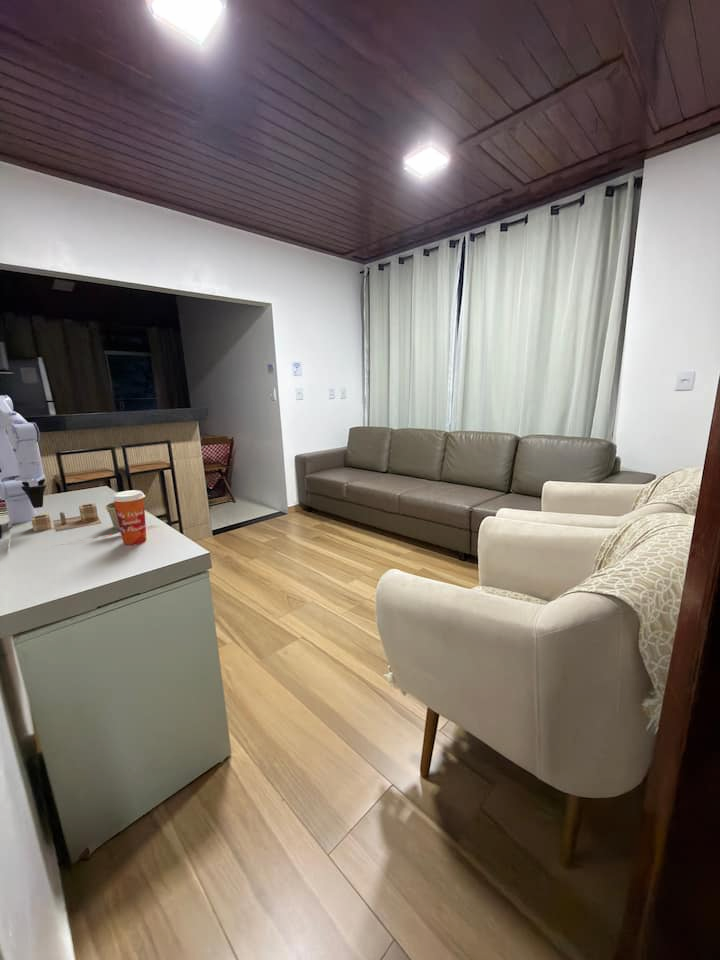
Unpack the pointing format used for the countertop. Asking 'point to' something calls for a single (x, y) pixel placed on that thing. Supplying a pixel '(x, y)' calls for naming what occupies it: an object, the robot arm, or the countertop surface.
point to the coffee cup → (131, 516)
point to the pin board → (72, 523)
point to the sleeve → (41, 522)
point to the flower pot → (113, 514)
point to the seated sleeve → (88, 512)
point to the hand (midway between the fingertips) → (37, 504)
